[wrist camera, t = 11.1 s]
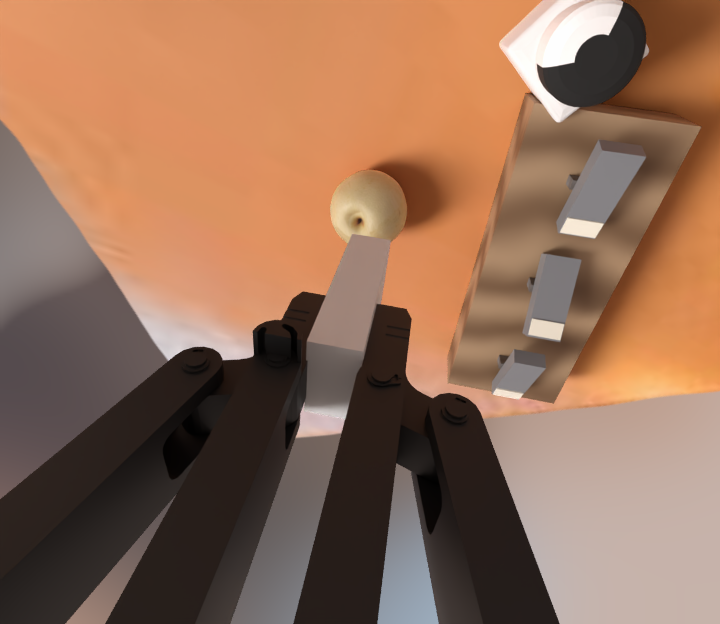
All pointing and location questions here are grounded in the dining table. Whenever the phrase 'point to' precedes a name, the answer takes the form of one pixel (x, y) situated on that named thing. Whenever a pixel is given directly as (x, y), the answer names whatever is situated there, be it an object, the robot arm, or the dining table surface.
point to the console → (558, 236)
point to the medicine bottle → (576, 52)
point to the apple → (368, 206)
